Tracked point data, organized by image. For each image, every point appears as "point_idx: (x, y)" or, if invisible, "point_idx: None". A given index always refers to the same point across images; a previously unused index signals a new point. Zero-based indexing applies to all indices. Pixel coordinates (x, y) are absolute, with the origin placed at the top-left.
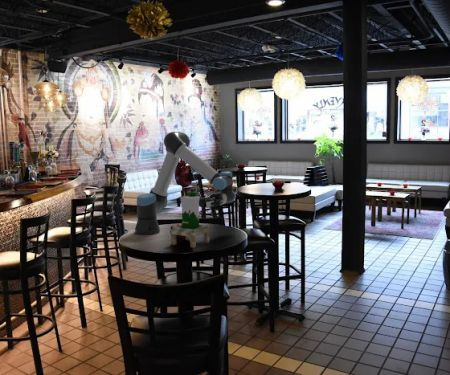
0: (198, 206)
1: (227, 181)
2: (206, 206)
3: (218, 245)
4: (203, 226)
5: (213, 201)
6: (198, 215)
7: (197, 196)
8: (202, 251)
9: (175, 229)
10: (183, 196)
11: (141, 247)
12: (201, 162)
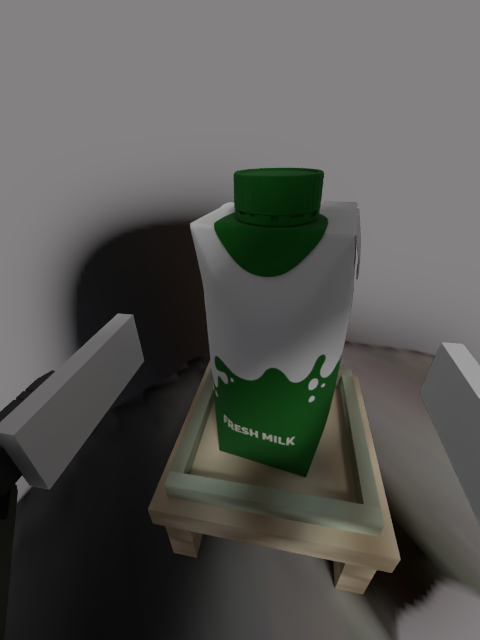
0: (205, 305)
1: None
2: (140, 355)
3: (107, 486)
4: (187, 437)
5: (11, 423)
6: (211, 363)
7: (216, 220)
8: (166, 383)
9: None
10: (356, 208)
11: (398, 365)
12: None
